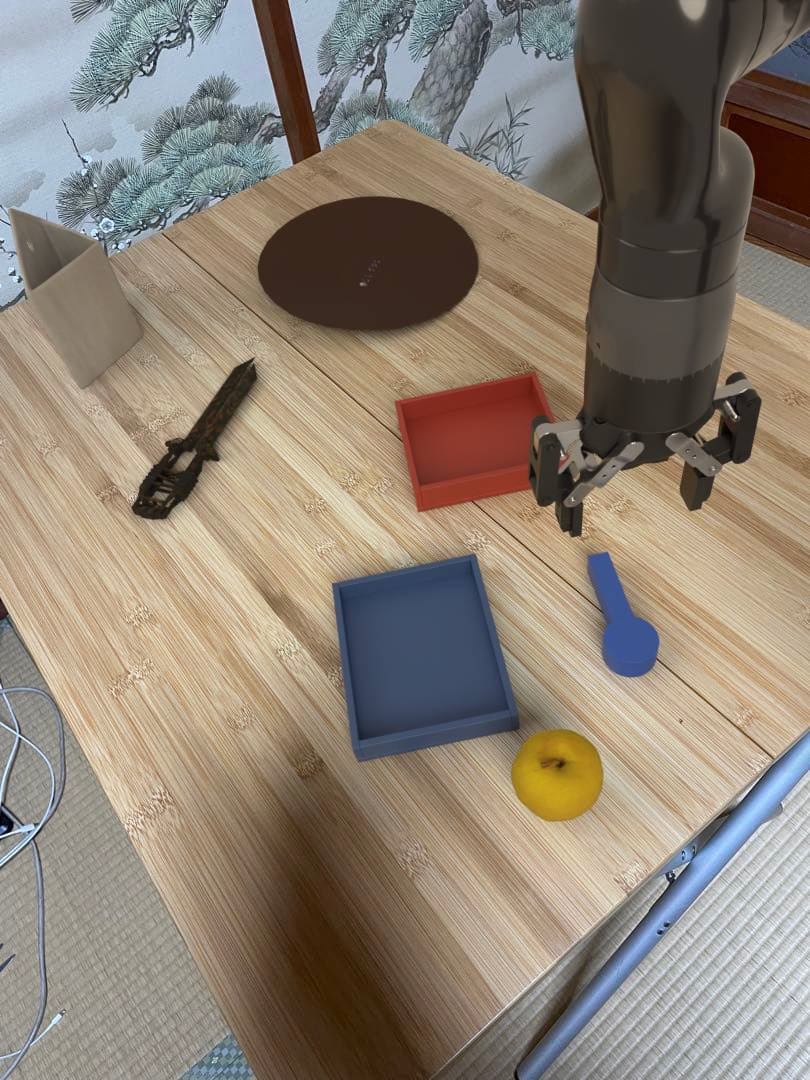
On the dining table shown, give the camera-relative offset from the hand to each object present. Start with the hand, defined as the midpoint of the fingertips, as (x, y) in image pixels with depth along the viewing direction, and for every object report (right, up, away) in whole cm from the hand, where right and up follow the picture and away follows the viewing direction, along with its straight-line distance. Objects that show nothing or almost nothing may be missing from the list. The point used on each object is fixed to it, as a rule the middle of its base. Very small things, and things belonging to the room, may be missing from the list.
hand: (631, 514), depth 59 cm
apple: (-4, -21, +4) cm, 22 cm away
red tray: (-8, +7, +27) cm, 29 cm away
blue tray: (-14, -12, +13) cm, 23 cm away
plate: (-20, +33, +50) cm, 63 cm away
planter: (-53, +23, +48) cm, 75 cm away
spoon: (+2, -9, +13) cm, 16 cm away
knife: (-38, +10, +35) cm, 53 cm away
